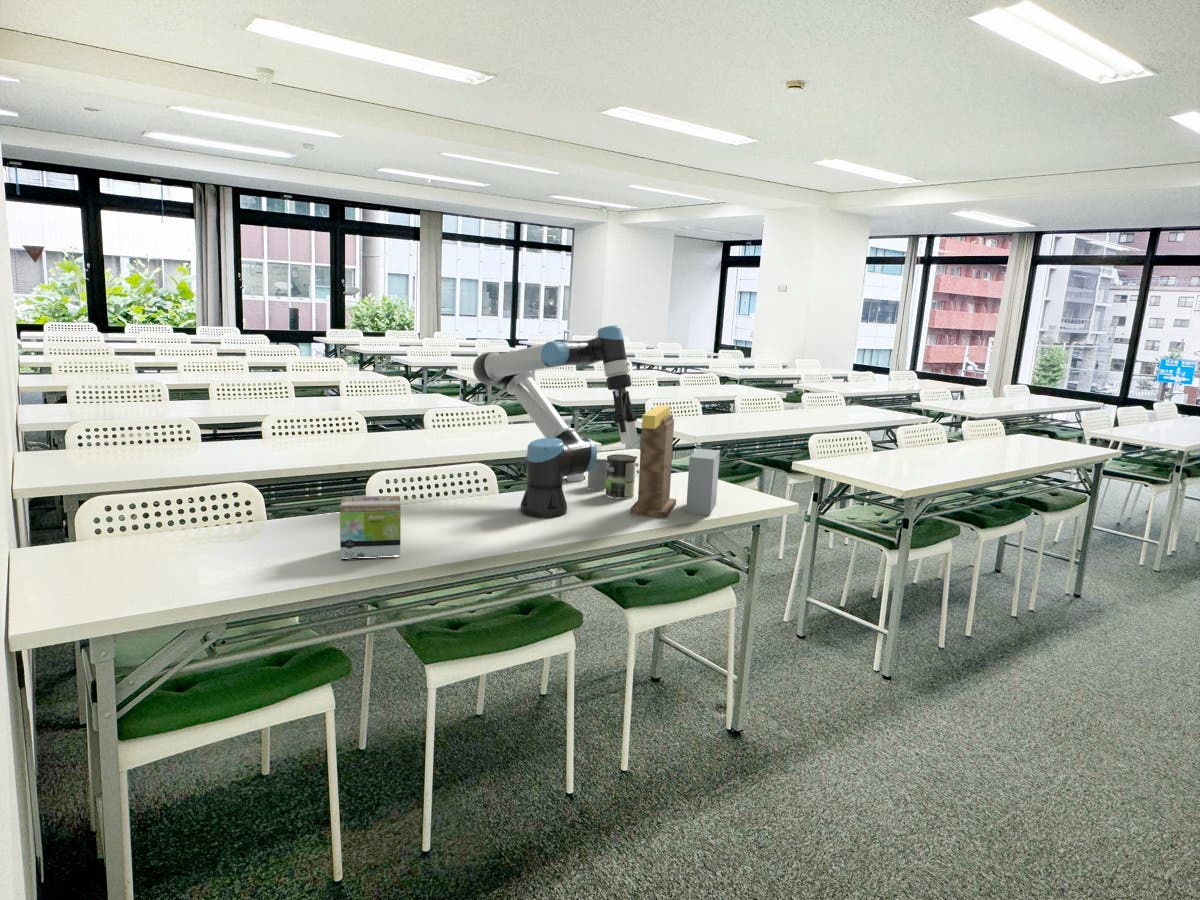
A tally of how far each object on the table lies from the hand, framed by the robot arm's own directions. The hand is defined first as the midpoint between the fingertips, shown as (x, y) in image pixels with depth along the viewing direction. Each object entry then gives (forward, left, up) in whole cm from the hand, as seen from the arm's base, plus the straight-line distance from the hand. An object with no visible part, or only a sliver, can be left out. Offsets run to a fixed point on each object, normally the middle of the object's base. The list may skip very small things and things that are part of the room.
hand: (630, 442), depth 231 cm
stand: (+6, +16, -25) cm, 30 cm away
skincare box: (-33, +47, -25) cm, 63 cm away
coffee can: (-9, +29, -25) cm, 39 cm away
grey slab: (+21, +24, -25) cm, 40 cm away
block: (+6, +13, +5) cm, 15 cm away
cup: (-19, +37, -25) cm, 48 cm away
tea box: (-55, -57, -25) cm, 84 cm away
